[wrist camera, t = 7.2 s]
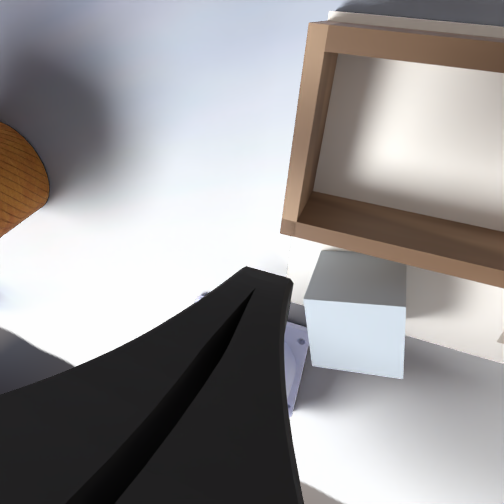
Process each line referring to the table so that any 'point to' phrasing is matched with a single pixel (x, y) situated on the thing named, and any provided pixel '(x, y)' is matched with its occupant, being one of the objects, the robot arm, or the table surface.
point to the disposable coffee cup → (19, 179)
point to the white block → (357, 314)
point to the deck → (419, 172)
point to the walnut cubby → (371, 215)
